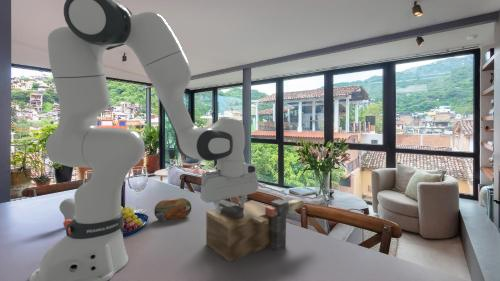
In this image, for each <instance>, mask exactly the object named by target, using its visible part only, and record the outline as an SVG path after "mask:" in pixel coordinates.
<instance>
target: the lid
mask: <svg viewBox="0 0 500 281" xmlns="http://www.w3.org/2000/svg"><path fill="white" fill-rule="evenodd" d="M219 206H220V207H222V208H223V213H221V214H217V213H216V208H215V209H211V210H207V211H206V213H205V214H206V215H207V216H209V217H211V218H212V219H214V220H216V221H218V222H219V223H221V224H223V225H224V226H226V227H228V228H229V229H230V228H234V227H237V226H240V225H244V224H247V223H250V222H254V223H256V224H258V225H260V226H262V225H265V224H268V219H265V218H267V217H270V216H268V215H266V214H265V207H267V206H268V205H265V204H262V203H261V202H258V201H255V200H249V201H245V203H244V208H242V207H240V206H238V203H237V204H235V203H232V202H231V201H228V200H220V204H219Z"/></svg>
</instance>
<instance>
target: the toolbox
mask: <svg viewBox="0 0 500 281" xmlns="http://www.w3.org/2000/svg"><path fill="white" fill-rule="evenodd" d="M270 204H271V205H270V206H272V205H274V206H277V207H278V215H275V216H273V217H271V216H270V217H267V218H265V219H268V224H265V225H262V226H260V225H258V224H256V223H254V222H250V223H247V224H244V225H240V226H237V227H234V228H230V229H229V228H228V227H226V226H224V225H223V224H221V223H219V222H218V221H216V220H214V219H212V218H211V217H209V216H207V215H206V216H205V218H206V220H205V222H206V223H205V225H206V227H205V231H206V232H205V233H206V236H205V237H206V238H205V240H206V242H205V244H206V245H207V246H209V248H211V249H213V250H214V251H215V252H216V253H217V254H218V255H220V256H222V258H224V259H226V261H228V262H229V263H230V262H233V261H235V260H238V259H240V258H243V257H245V256H248V255H250V254H253V253H255V252H258V251H261V250H263V249H265V248H267V247H271V248H272V249H274V250H276V251H278V250H281V249H283V248H285V247H286V242H287V238H286V237H287V235H286V234H287V215H289V214H290V211H289V202H287V201H286V200H283V199H276V200H272V201H270Z"/></svg>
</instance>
